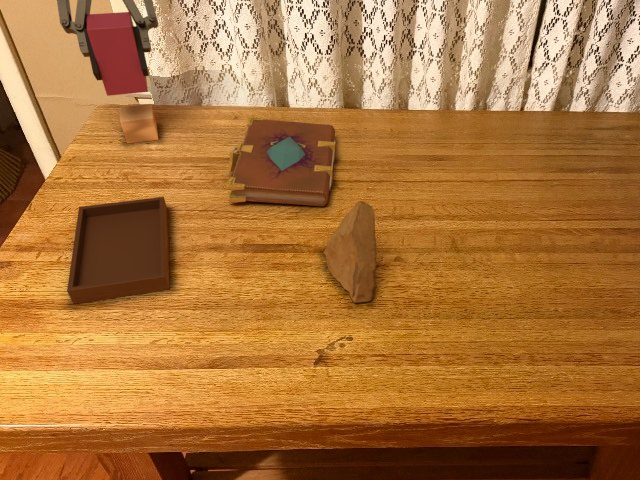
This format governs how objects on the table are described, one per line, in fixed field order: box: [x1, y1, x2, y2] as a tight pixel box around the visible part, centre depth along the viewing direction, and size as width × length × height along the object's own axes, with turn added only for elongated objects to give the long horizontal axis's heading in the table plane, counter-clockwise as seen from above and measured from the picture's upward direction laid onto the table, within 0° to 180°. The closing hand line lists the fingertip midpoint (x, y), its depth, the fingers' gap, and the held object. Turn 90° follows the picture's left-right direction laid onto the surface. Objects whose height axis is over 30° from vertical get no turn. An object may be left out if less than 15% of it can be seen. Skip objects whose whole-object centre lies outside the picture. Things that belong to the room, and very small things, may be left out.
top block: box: [87, 11, 149, 97], centre depth 90 cm, size 6×6×10 cm
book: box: [225, 115, 336, 207], centre depth 94 cm, size 16×25×5 cm, turn 1°
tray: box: [66, 196, 171, 305], centre depth 78 cm, size 17×11×2 cm, turn 16°
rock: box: [323, 200, 377, 304], centre depth 75 cm, size 11×9×10 cm
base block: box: [119, 103, 159, 144], centre depth 99 cm, size 5×5×4 cm
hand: (121, 74), depth 89 cm, fingers closed on top block, 6 cm apart
